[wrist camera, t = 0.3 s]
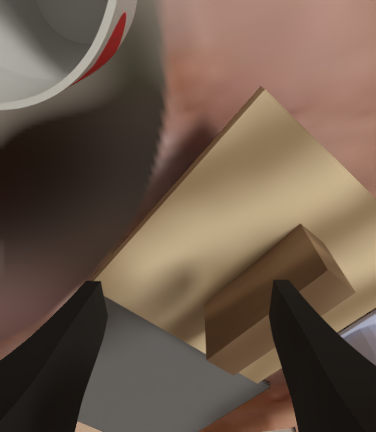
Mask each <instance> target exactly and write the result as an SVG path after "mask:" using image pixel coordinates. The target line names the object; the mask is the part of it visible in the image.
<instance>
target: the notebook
mask: <svg viewBox="0 0 376 432" xmlns="http://www.w3.org/2000/svg"><path fill="white" fill-rule="evenodd" d="M265 432H296V429H295V427H294V428H289V429H281V430H273V431H265Z"/></svg>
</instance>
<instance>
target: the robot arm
mask: <svg viewBox="0 0 376 432" xmlns="http://www.w3.org/2000/svg"><path fill="white" fill-rule="evenodd" d="M107 319H108V314H107V309H106V304H105V299H104V294H103V289H102V284H101V281H86V282H85V283H84V284H83V285H82V286H81V287H80V288H79V289H78V290H77V291H76V292H75V293H74V295H73V296H72V297H71V298H70V299H69V300H68V301H67V302H66V303H65V304H64V305H63V306H62V307H61V308H60V309H59V310H58V311H57V312H56V313H55V314H54V315H53V316H52V317H51V318H50V319H49V320H48V321H47V322H46V323H45V324H44V325H43V326H42V327H41V328H39V329H38V330H37V331H36V332H35V333H34V334H33V335H32V336H31V337H30V338H28V339H27V340H26V341H25V342H24V343H22V344H21V345H20V346H19V347H17V348H16V349H15V350H14V351H12V352H11V353H10V354H9V355H7V356H6V357H5V358H3V359H2V360H0V432H75V428H76V424H77V420H78V416H79V412H80V408H81V404H82V400H83V397H84V394H85V391H86V388H87V385H88V382H89V379H90V376H91V373H92V371H93V368H94V365H95V362H96V359H97V356H98V353H99V350H100V347H101V344H102V341H103V338H104V333H105V329H106V324H107ZM269 320H270V326H271V331H272V336H273V341H274V344H275V347H276V351H277V354H278V357H279V360H280V363H281V367H282V370H283V373H284V376H285V379H286V382H287V386H288V389H289V392H290V396H291V399H292V403H293V407H294V412H295V416H296V421H297V426H298V430H299V432H376V310H374V311H372V312H371V313H369V314H368V315H366V316H365V317H363V318H361V319H360V320H358V321H357V322H355V323H354V324H352V325H351V326H349V327H347V328H346V329H344V330H343V331H341V332H340V333H337V332H336V331H335V330H334V329H333V328H332V327H331V326H330V325H329V324H328V323H327V322H326V321H325V320H324V319H323V318H322V317H321V316H320V315H319V314H318V313H317V312H316V311H315V310H314V308H313V307H312V306H311V305H310V304H309V303H308V302H307V301H306V299H305V298H304V297H303V296H302V295H301V294H300V292H299V291H298V290H297V289H296V288H295V286H294V285H293V284H292V283H291V282H290V281H289V280H273V287H272V295H271V302H270V310H269Z"/></svg>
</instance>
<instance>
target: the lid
mask: <svg viewBox="0 0 376 432" xmlns="http://www.w3.org/2000/svg"><path fill="white" fill-rule="evenodd" d="M273 280H289V281H290V282H291V283H292V284H293V285H294V286H295V288H296V289H297V290H298V291H299V292H300V294H301V295H302V296H303V297H304V298H305V299H306V301H307V302H308V303H309V304H310V305H311V306H312V307H313V308H314V310H315V311H316V312H317V313H318V314H319V315H320V316H321V317H322V318H323V319H324V320H325V321H326V322H327V323H328V324H329V325H330V326H331V327H332V328H333V329H334V330H335V331H336V332H339V331H340V330H342V329H343V328H345V327H346V326H348V325H350V324H351V323H353V322H354V321H356V320H357V319H359V318H360V317H362V316H364V315H365V314H367V313H368V312H370V311H371V310H373V309H375V308H376V199H375V198H374V197H373V196H372V195H371V194H370V193H369V192H368V191H367V190H366V189H365V188H364V187H363V186H362V185H361V184H360V183H359V182H358V181H357V180H356V179H355V178H354V177H353V176H352V175H351V174H350V173H349V172H348V171H347V170H346V169H345V168H344V167H343V166H342V165H341V164H340V163H339V162H338V161H337V160H336V159H335V158H334V157H333V156H332V155H331V154H330V153H329V152H328V151H327V150H326V149H325V148H324V147H323V146H322V145H321V144H320V143H319V142H318V141H317V140H316V139H315V138H314V137H313V136H312V135H311V134H310V133H309V132H308V131H307V130H306V129H305V128H304V127H303V126H302V125H301V124H300V123H299V122H298V121H297V120H295V119H294V118H293V117H292V116H291V115H290V114H289V113H288V112H287V111H286V110H285V109H284V108H283V107H282V106H281V105H280V104H279V103H278V102H277V101H276V100H275V99H274V98H273V97H272V96H271V95H270V94H269V93H268V92H267V91H266V90H265V89H264V88H262V87H260V88H259V89H258V90H257V91H256V92H255V93H254V95H253V96H252V97H251V98H250V99H249V100H248V101H247V102H246V104H245V105H244V106H243V107H242V108H241V109H240V110H239V112H238V113H237V114H236V115H235V116H234V117H233V118H232V119H231V121H230V122H229V123H228V124H227V125H226V126H225V127H224V129H223V130H222V131H221V132H220V133H219V134H218V135H217V136H216V138H215V139H214V140H213V141H212V142H211V143H210V144H209V145H208V147H207V148H206V149H205V150H204V151H203V152H202V153H201V155H200V156H199V157H198V158H197V159H196V160H195V161H194V162H193V164H192V165H191V166H190V167H189V168H188V169H187V170H186V172H185V173H184V174H183V175H182V176H181V177H180V178H179V179H178V181H177V182H176V183H175V184H174V185H173V186H172V187H171V189H170V190H169V191H168V192H167V193H166V194H165V195H164V196H163V198H162V199H161V200H160V201H159V202H158V203H157V204H156V205H155V207H154V208H153V209H152V210H151V211H150V212H149V213H148V215H147V216H146V217H145V218H144V219H143V220H142V221H141V222H140V224H139V225H138V226H137V227H136V228H135V229H134V230H133V232H132V233H131V234H130V235H129V236H128V237H127V238H126V239H125V241H124V242H123V243H122V244H121V245H120V246H119V247H118V249H117V250H116V251H115V252H114V253H113V254H112V255H111V256H110V258H109V259H108V260H107V261H106V262H105V263H104V264H103V265H102V267H101V268H100V269H99V270H98V271H97V272H96V273H95V275H94V276H93V277H92V280H91V281H101V284H102V289H103V294H104V296H106V297H107V298H109V299H111V300H113V301H114V302H116V303H118V304H119V305H121V306H123V307H125V308H126V309H128V310H130V311H132V312H133V313H135V314H137V315H139V316H140V317H142V318H144V319H146V320H147V321H149V322H151V323H153V324H154V325H156V326H158V327H160V328H161V329H163V330H165V331H167V332H168V333H170V334H172V335H174V336H175V337H177V338H179V339H180V340H182V341H184V342H186V343H187V344H189V345H191V346H193V347H194V348H196V349H198V350H200V351H201V352H203V353H205V354H206V360H207V361H208V362H210V363H212V364H214V365H215V366H217V367H219V368H221V369H222V370H224V371H226V372H228V373H230V374H231V375H233V376H234V375H235V374H237V373H240V374H241V375H243V376H245V377H247V378H248V379H250V380H252V381H254V382H255V383H259V382H261V381H262V380H264V379H265V378H267V377H268V376H270V375H271V374H273V373H275V372H276V371H278V370H279V369H281V368H282V367H281V363H280V360H279V357H278V354H277V351H276V347H275V344H274V341H273V336H272V331H271V326H270V320H269V310H270V302H271V295H272V287H273Z"/></svg>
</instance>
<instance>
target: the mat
mask: <svg viewBox="0 0 376 432" xmlns="http://www.w3.org/2000/svg"><path fill="white" fill-rule="evenodd" d="M104 299H105V304H106V309H107V314H108V319H107V324H106V329H105V333H104V338H103V341H102V344H101V347H100V350H99V353H98V356H97V359H96V362H95V365H94V368H93V371H92V373H91V376H90V379H89V382H88V385H87V388H86V391H85V394H84V397H83V400H82V404H81V408H80V412H79V416H78V420H77V421H79V422H81V423H83V424H86V425H88V426H91V427H93V428H95V429H98V430H100V431H102V432H199V431H200V430H202V429H203V428H205V427H207V426H208V425H210V424H212V423H213V422H215V421H216V420H218V419H220V418H221V417H223V416H224V415H226V414H228V413H229V412H231V411H232V410H234V409H236V408H237V407H239V406H241V405H242V404H244V403H245V402H247V401H249V400H250V399H252V398H253V397H255V396H257V395H258V394H260V393H261V392H263V391H265V390H266V389H268V388H270V383H268V382H267V381H265V380H262V381H261V382H259V383H255V382H254V381H252V380H250V379H248V378H247V377H245V376H243V375H241V374H240V373H237V374H235V375H234V376H233V375H231V374H230V373H228V372H226V371H224V370H222V369H221V368H219V367H217V366H215V365H214V364H212V363H210V362H208V361H207V360H206V354H205V353H203V352H201V351H200V350H198V349H196V348H194V347H193V346H191V345H189V344H187V343H186V342H184V341H182V340H180V339H179V338H177V337H175V336H174V335H172V334H170V333H168V332H167V331H165V330H163V329H161V328H160V327H158V326H156V325H154V324H153V323H151V322H149V321H147V320H146V319H144V318H142V317H140V316H139V315H137V314H135V313H133V312H132V311H130V310H128V309H126V308H125V307H123V306H121V305H119V304H118V303H116V302H114V301H113V300H111V299H109V298H107V297H106V296H104Z"/></svg>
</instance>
